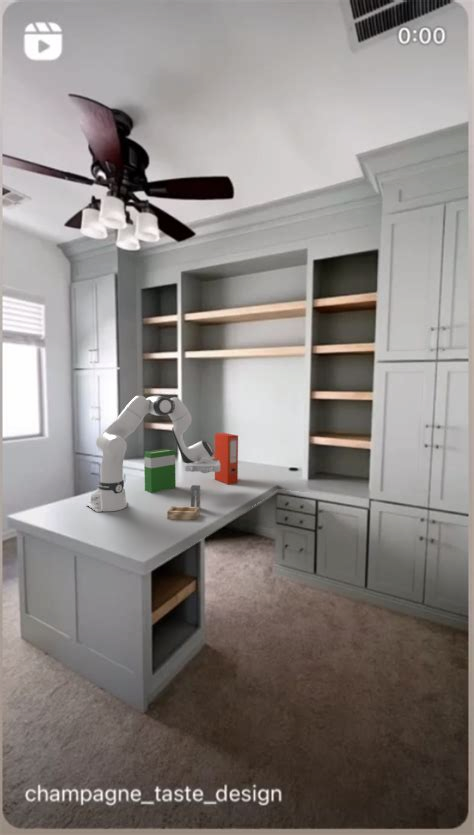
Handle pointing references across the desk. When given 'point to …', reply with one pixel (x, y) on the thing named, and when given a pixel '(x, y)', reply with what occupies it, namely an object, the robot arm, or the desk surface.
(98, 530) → the desk surface
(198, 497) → the clip
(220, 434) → the file binder
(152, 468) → the green box
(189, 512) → the wooden tray
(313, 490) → the desk surface
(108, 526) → the desk surface
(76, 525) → the desk surface
